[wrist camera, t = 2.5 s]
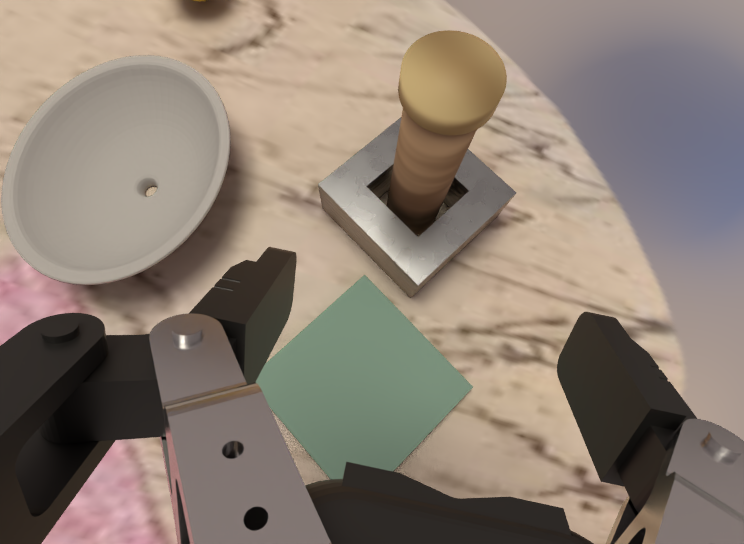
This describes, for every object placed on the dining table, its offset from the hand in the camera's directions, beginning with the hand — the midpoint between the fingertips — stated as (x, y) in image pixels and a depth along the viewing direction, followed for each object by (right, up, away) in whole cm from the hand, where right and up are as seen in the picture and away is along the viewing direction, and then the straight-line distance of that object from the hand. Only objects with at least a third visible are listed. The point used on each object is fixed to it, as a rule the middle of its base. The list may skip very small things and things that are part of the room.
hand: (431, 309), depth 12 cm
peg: (+1, +6, +22) cm, 23 cm away
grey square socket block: (+1, +6, +22) cm, 23 cm away
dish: (-19, +7, +22) cm, 30 cm away
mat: (-3, -7, +18) cm, 19 cm away
